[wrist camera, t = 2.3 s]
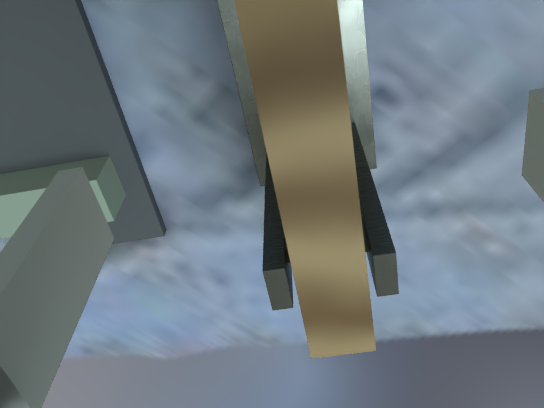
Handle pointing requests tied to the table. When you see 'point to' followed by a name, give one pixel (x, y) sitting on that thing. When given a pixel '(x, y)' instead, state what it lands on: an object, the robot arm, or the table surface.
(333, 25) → the rail
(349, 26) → the grey notched post stand
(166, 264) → the table surface
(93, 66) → the plate with green blocks
